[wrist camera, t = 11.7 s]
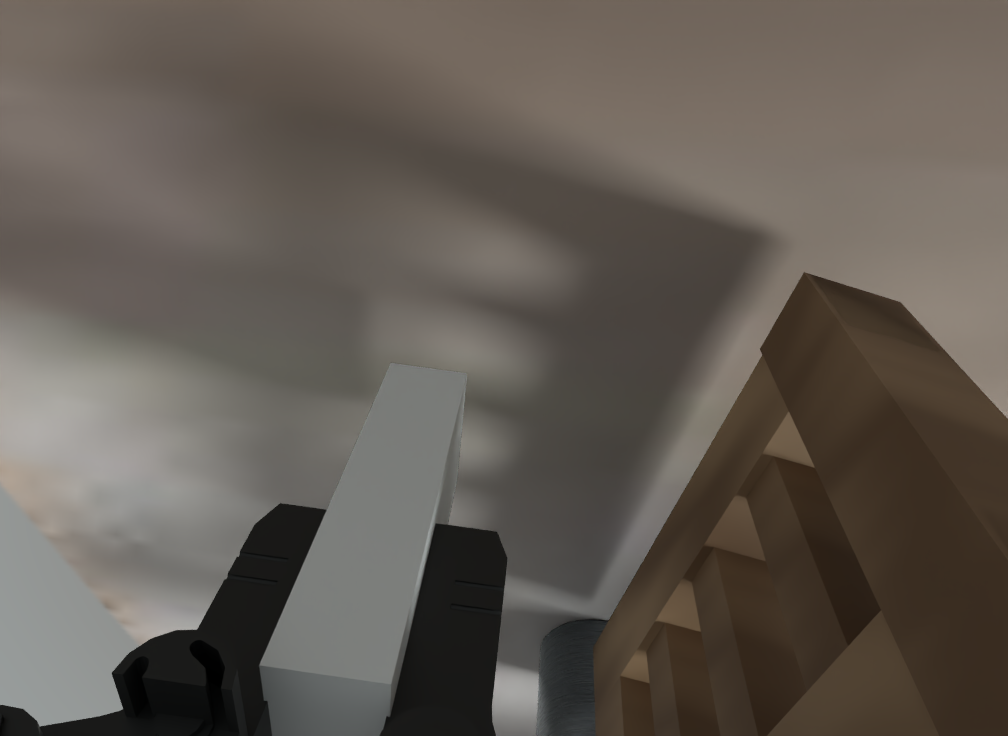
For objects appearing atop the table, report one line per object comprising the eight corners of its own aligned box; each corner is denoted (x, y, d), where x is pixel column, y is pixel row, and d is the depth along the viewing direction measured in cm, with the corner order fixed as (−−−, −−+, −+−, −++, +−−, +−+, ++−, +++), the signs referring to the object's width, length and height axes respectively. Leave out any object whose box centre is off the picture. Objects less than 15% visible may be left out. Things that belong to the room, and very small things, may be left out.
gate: (656, 663, 18) (708, 1118, 11) (589, 646, 17) (600, 1096, 11) (900, 302, 12) (1340, 781, 5) (803, 271, 12) (1124, 724, 5)
